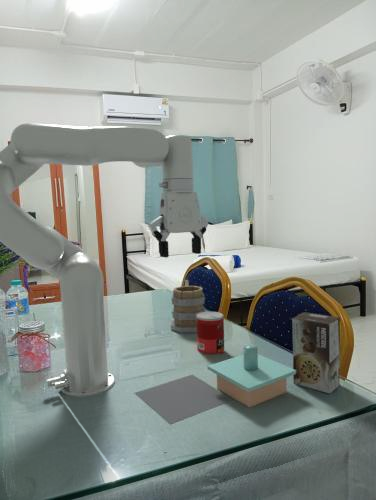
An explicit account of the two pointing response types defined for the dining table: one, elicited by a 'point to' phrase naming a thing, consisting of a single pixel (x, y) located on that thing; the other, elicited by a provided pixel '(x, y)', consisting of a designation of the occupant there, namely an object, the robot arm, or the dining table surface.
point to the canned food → (210, 332)
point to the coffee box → (316, 351)
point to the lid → (251, 369)
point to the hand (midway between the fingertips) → (180, 255)
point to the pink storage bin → (255, 395)
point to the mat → (182, 398)
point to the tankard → (186, 307)
